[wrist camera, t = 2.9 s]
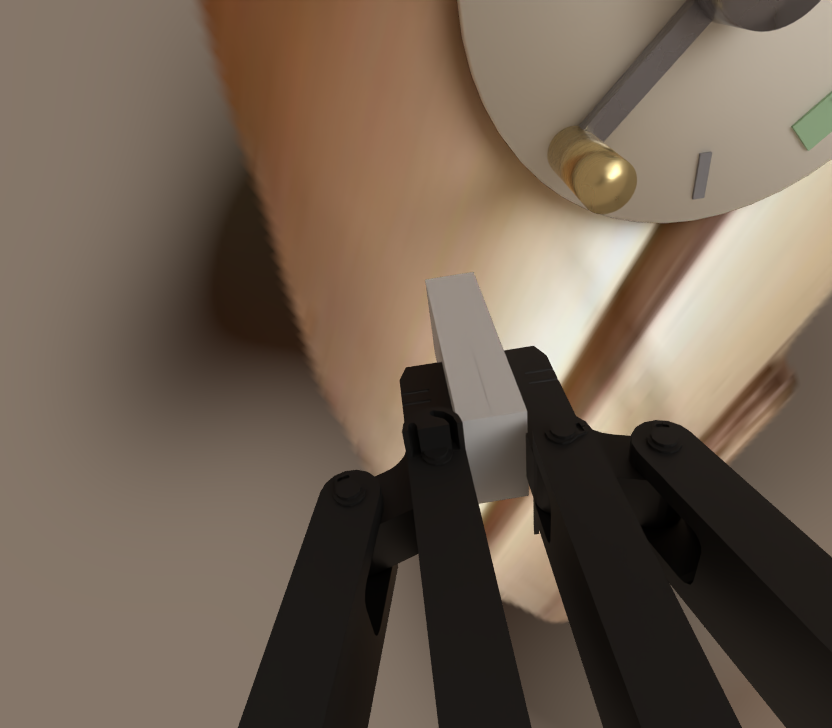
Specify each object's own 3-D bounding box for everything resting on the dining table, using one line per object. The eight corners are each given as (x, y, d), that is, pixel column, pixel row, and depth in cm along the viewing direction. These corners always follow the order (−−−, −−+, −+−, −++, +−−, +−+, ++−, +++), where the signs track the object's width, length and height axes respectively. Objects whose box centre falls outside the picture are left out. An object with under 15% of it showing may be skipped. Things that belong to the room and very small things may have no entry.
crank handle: (762, -157, 22) (857, -181, 18) (825, -59, 24) (924, -59, 20) (518, 140, 28) (547, 174, 24) (586, 199, 30) (624, 240, 26)
